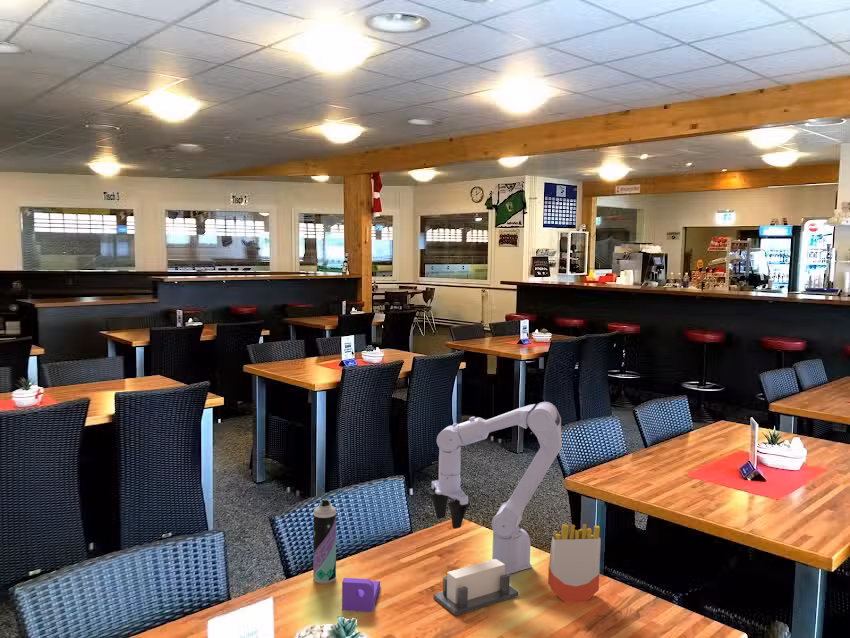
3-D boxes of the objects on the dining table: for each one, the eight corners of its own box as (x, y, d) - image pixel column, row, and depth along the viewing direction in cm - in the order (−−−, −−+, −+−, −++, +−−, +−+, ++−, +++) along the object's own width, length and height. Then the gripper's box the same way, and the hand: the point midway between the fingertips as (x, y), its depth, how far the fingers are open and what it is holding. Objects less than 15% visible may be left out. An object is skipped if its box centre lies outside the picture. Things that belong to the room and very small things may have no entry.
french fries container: (547, 592, 159) (549, 518, 158) (591, 590, 160) (594, 517, 159) (552, 601, 155) (555, 526, 153) (598, 600, 156) (601, 525, 154)
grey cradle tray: (495, 580, 165) (495, 560, 164) (518, 595, 157) (519, 575, 157) (433, 598, 155) (433, 577, 155) (454, 616, 148) (455, 594, 147)
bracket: (372, 613, 149) (372, 583, 149) (341, 611, 150) (342, 582, 149) (380, 587, 161) (380, 559, 160) (351, 585, 162) (352, 558, 161)
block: (495, 582, 161) (495, 558, 161) (504, 589, 158) (504, 564, 158) (446, 597, 154) (447, 572, 154) (455, 603, 151) (455, 578, 151)
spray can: (309, 581, 163) (309, 501, 161) (320, 571, 168) (320, 494, 166) (328, 585, 161) (328, 504, 159) (339, 575, 166) (340, 497, 164)
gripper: (422, 467, 179) (421, 516, 181) (452, 482, 167) (451, 535, 168) (444, 463, 183) (443, 511, 184) (475, 478, 171) (474, 530, 172)
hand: (448, 522), depth 176 cm, fingers open, 7 cm apart
